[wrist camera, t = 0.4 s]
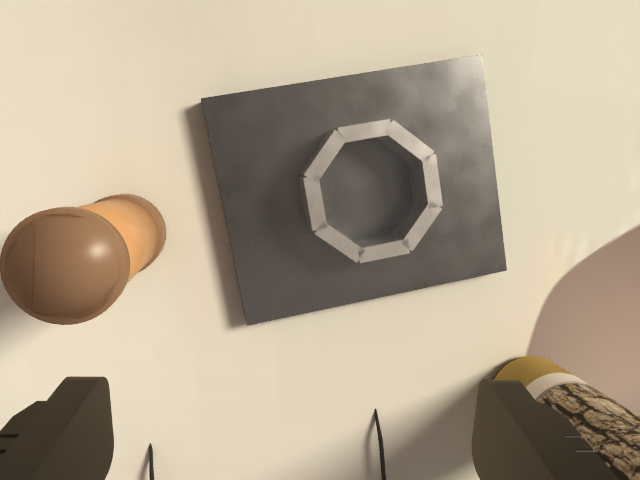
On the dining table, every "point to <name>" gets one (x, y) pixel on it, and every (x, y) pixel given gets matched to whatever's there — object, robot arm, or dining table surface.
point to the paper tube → (583, 412)
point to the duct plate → (357, 186)
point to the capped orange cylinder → (80, 257)
